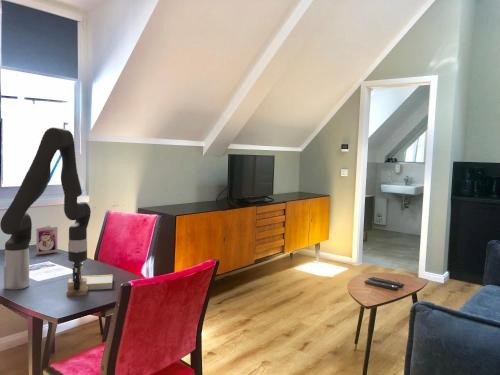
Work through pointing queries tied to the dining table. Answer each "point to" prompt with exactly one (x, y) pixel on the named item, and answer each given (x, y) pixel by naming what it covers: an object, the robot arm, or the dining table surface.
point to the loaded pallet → (81, 291)
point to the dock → (99, 282)
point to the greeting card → (46, 240)
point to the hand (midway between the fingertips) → (77, 286)
